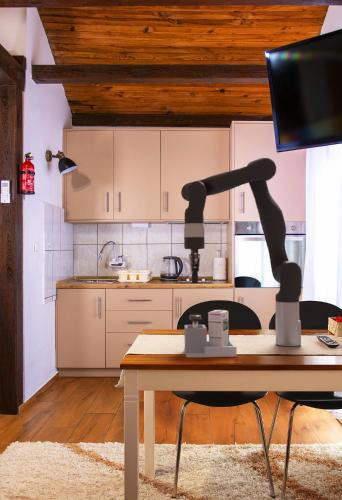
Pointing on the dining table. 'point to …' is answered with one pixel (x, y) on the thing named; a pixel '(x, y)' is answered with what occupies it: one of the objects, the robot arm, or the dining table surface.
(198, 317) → the black knob with stem
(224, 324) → the syrup box
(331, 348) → the dining table surface
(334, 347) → the dining table surface
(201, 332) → the tray
